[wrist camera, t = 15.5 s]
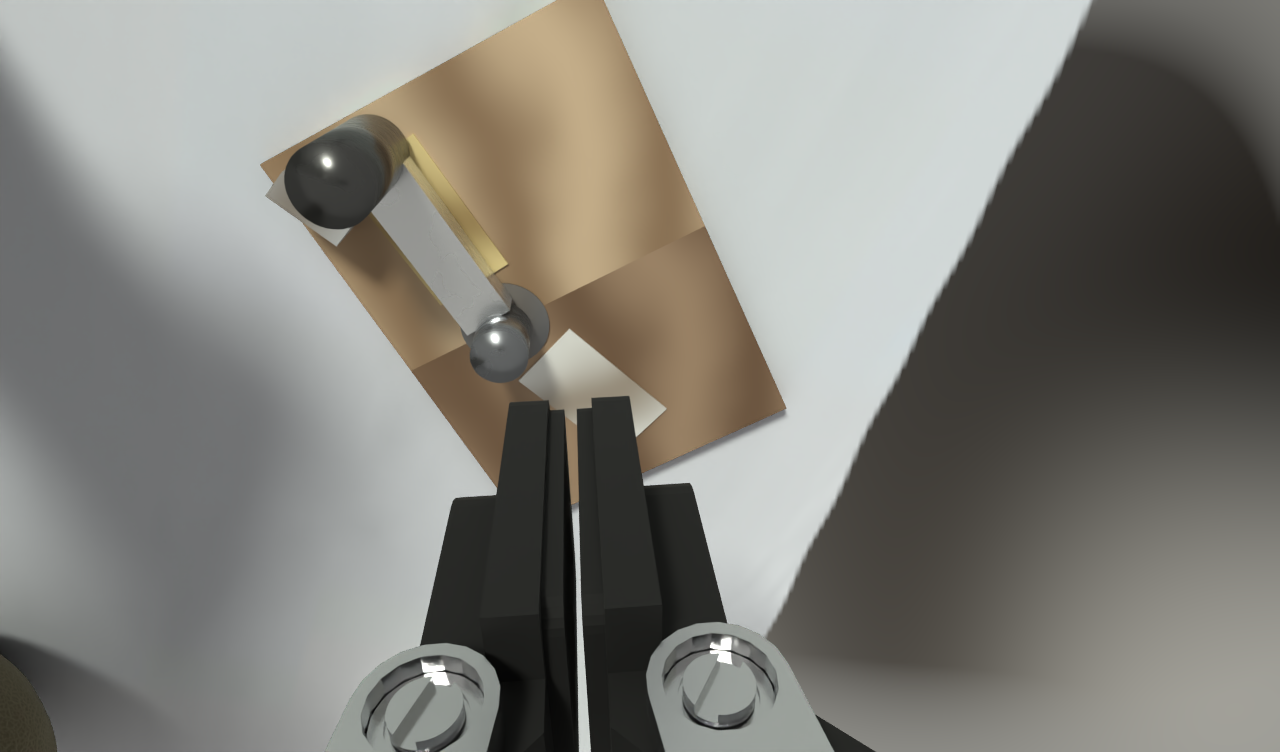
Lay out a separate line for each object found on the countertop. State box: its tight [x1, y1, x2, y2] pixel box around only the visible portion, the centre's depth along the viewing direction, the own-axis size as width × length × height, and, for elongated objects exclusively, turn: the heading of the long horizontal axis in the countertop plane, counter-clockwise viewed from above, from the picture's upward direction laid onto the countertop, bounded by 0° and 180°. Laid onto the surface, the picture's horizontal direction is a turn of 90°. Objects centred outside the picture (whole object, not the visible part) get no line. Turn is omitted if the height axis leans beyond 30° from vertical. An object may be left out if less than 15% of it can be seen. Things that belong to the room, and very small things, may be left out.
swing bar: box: [284, 114, 531, 383], centre depth 28 cm, size 12×3×6 cm, turn 30°
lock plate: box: [260, 0, 786, 505], centre depth 32 cm, size 15×21×3 cm
